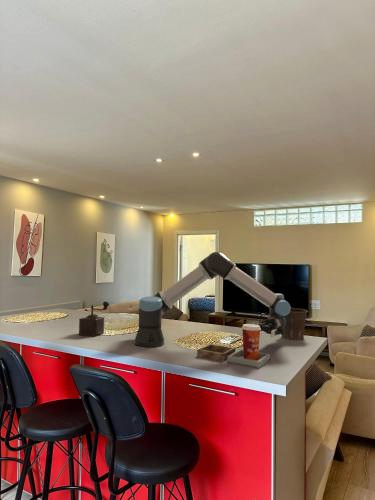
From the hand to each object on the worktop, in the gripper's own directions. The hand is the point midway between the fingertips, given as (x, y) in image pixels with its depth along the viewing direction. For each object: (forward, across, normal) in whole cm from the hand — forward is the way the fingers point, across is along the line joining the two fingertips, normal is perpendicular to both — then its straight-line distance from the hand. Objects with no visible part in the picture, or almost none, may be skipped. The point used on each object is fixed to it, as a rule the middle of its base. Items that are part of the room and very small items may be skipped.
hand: (257, 332), depth 157 cm
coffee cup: (+10, -1, -10) cm, 15 cm away
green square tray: (+11, 0, -11) cm, 15 cm away
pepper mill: (+10, +94, -11) cm, 95 cm away
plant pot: (-49, -4, -11) cm, 51 cm away
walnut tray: (+11, +16, -11) cm, 22 cm away
